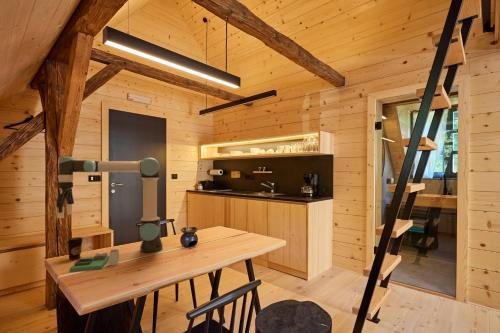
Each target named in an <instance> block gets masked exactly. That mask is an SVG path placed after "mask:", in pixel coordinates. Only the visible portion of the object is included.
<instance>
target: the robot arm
mask: <svg viewBox="0 0 500 333" xmlns="http://www.w3.org/2000/svg"><path fill="white" fill-rule="evenodd" d="M160 170H161V164H160V162H159V161H158V159H156V158H154V157H146V158H144V159H140V160H137V161H136V160H135V161H133V160H132V161H130V160H128V161H127V160H126V161H125V160H124V161H123V160H122V161H121V160H118V161H117V160H113V161H112V160H107V161H106V160H105V161H104V160H92V159H87V160H86V159H85V160H83V159H79V160H78V159H74V157H72V156H60V157H59V158H58V176H57V179H58V184H57V187H58V189H59V190H58V196H57V201H56V205H55V207H56V208H57V218H58V219H64V218H65V215H64V214H65V212H64V211H65V207H64V204H65V202H67V204H66V215H73V205H74V204H75V200H74V196H73V189H72V188H74V182H73V181H74V173H139V174H140V179H141V180H142V181H143V184H142V186H143V187H142V188H143V193H142V194H143V196H142V199H143V200H142V204H143V205H142V217H141V218H140V228H139V236H140V237H141V239H142V240H141V244H140V247H139V252H141V253H155V252H159V251H161V250H163V247H164V245H163V242H162V240H161V217H160V216H157V215H158V180H159V179H160V176H161V175H160Z"/></svg>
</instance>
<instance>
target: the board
mask: <svg viewBox="0 0 500 333" xmlns="http://www.w3.org/2000/svg"><path fill="white" fill-rule="evenodd" d="M108 261H110V255H108V252H97V253H95V254H94V256H92V257H90V256H89V257H81V258H80V259H77V260H75V262H74V263H73V264H72V265H71V267H70V268H69V273H72V272H73V273H74V272H83V271H84V272H86V271H95V270H97V271H98V270H103V268H104V267H105V265H106V264H108Z"/></svg>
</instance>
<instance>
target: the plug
mask: <svg viewBox="0 0 500 333" xmlns="http://www.w3.org/2000/svg"><path fill="white" fill-rule="evenodd" d="M119 259H120V251H119V249H117V248H116V249H111V250H110V251H109V266H110V265H111V266H118V265H119Z"/></svg>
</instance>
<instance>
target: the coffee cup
mask: <svg viewBox="0 0 500 333" xmlns="http://www.w3.org/2000/svg"><path fill="white" fill-rule="evenodd" d="M83 240H84V239H83V237H81V236H80V237H70V238H69V239H68V240H67V241H66V243H67V253H68V260H69V261H78V260H79V259H80V258H82V257H81V254H82V248H83V247H82V246H83V245H82V244H83Z"/></svg>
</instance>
